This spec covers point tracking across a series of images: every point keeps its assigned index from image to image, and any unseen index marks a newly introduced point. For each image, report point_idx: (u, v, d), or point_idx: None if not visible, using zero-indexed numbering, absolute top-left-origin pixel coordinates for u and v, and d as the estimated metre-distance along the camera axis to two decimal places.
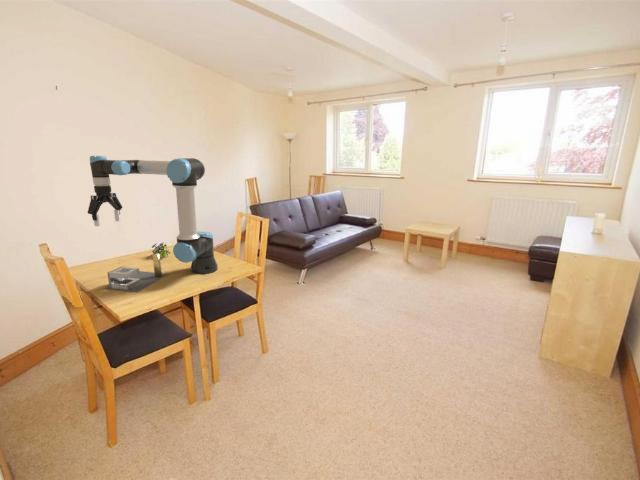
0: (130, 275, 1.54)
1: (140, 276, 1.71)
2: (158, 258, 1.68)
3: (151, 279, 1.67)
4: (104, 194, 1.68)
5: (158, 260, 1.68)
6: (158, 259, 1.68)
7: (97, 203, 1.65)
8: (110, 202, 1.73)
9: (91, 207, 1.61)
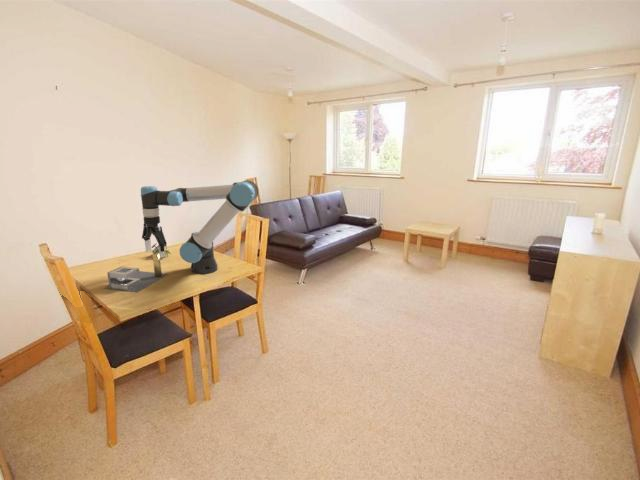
0: (130, 275, 1.54)
1: (140, 276, 1.71)
2: (158, 258, 1.68)
3: (151, 279, 1.67)
4: (149, 225, 1.63)
5: (158, 260, 1.68)
6: (158, 259, 1.68)
7: None
8: None
9: None
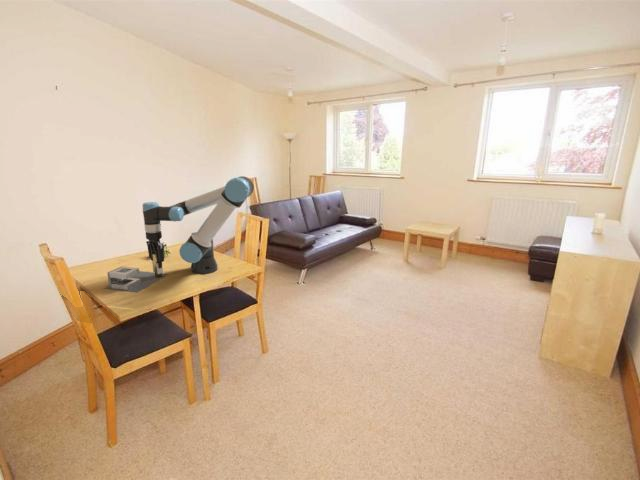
0: (130, 275, 1.54)
1: (140, 276, 1.71)
2: None
3: (151, 279, 1.67)
4: (151, 240, 1.66)
5: None
6: None
7: None
8: None
9: None
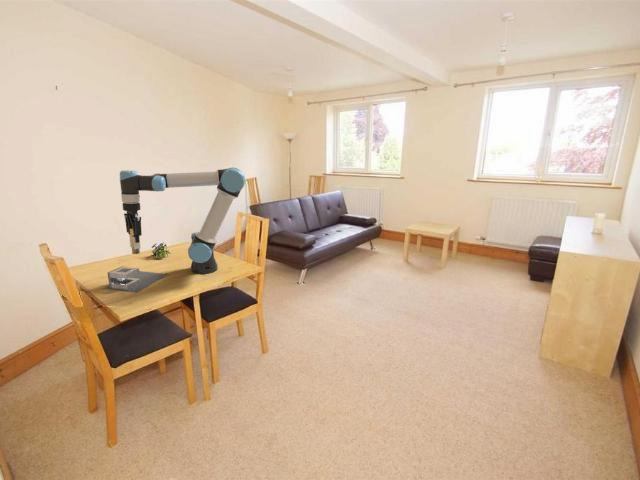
0: (130, 275, 1.54)
1: (140, 276, 1.71)
2: None
3: (151, 279, 1.67)
4: (129, 212, 1.54)
5: None
6: None
7: None
8: None
9: None
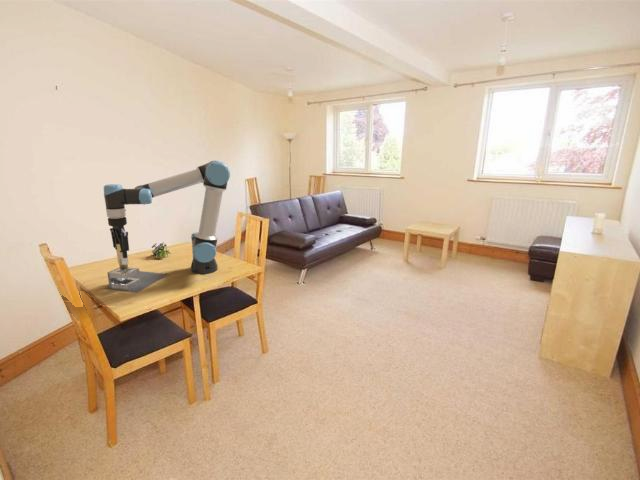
0: (130, 275, 1.54)
1: (140, 276, 1.71)
2: None
3: (151, 279, 1.67)
4: (115, 227, 1.50)
5: None
6: None
7: None
8: None
9: None
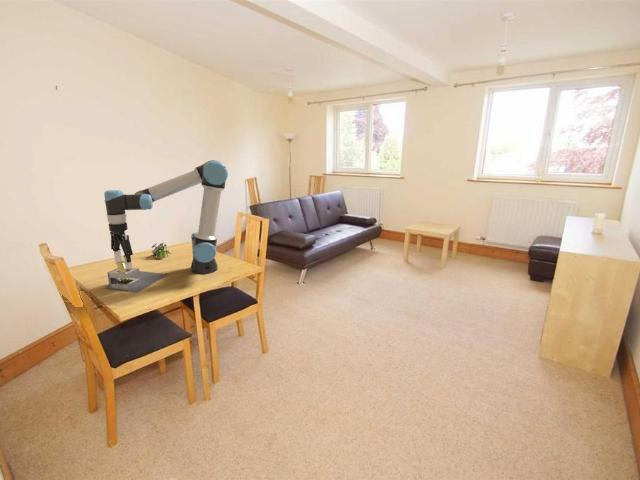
0: (130, 275, 1.54)
1: (140, 276, 1.71)
2: (123, 266, 1.54)
3: (151, 279, 1.67)
4: (116, 232, 1.50)
5: (124, 269, 1.54)
6: (123, 267, 1.54)
7: None
8: None
9: None
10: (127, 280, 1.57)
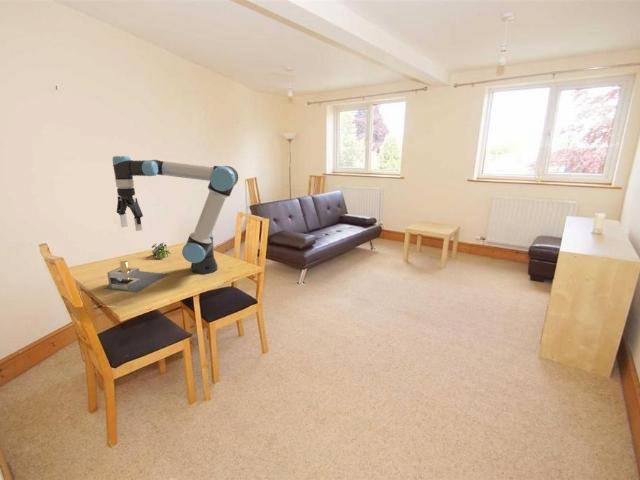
0: (130, 275, 1.54)
1: (140, 276, 1.71)
2: (126, 266, 1.55)
3: (151, 279, 1.67)
4: (124, 197, 1.57)
5: (126, 268, 1.55)
6: (126, 267, 1.55)
7: None
8: None
9: None
10: (128, 280, 1.57)
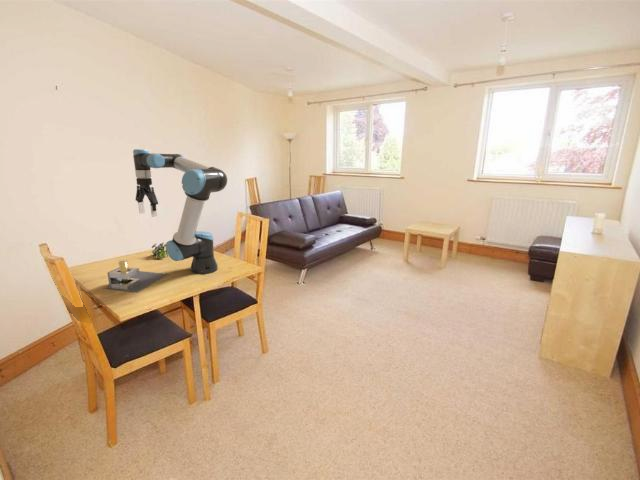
0: (130, 275, 1.54)
1: (140, 276, 1.71)
2: (125, 266, 1.55)
3: (151, 279, 1.67)
4: (142, 186, 1.75)
5: (125, 268, 1.55)
6: (125, 267, 1.55)
7: None
8: None
9: None
10: (128, 280, 1.57)
